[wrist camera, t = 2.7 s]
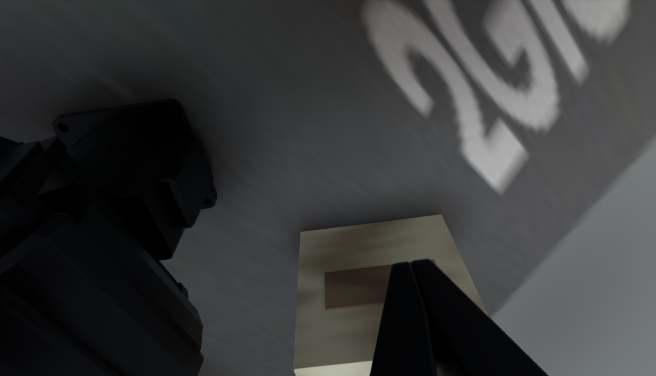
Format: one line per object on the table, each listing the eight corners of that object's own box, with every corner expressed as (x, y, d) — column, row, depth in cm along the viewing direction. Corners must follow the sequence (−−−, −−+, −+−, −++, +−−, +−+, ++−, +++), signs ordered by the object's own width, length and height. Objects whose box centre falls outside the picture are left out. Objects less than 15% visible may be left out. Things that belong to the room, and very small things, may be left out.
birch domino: (308, 264, 25) (305, 402, 17) (299, 230, 23) (293, 367, 16) (439, 248, 24) (494, 383, 17) (441, 212, 23) (503, 344, 15)
